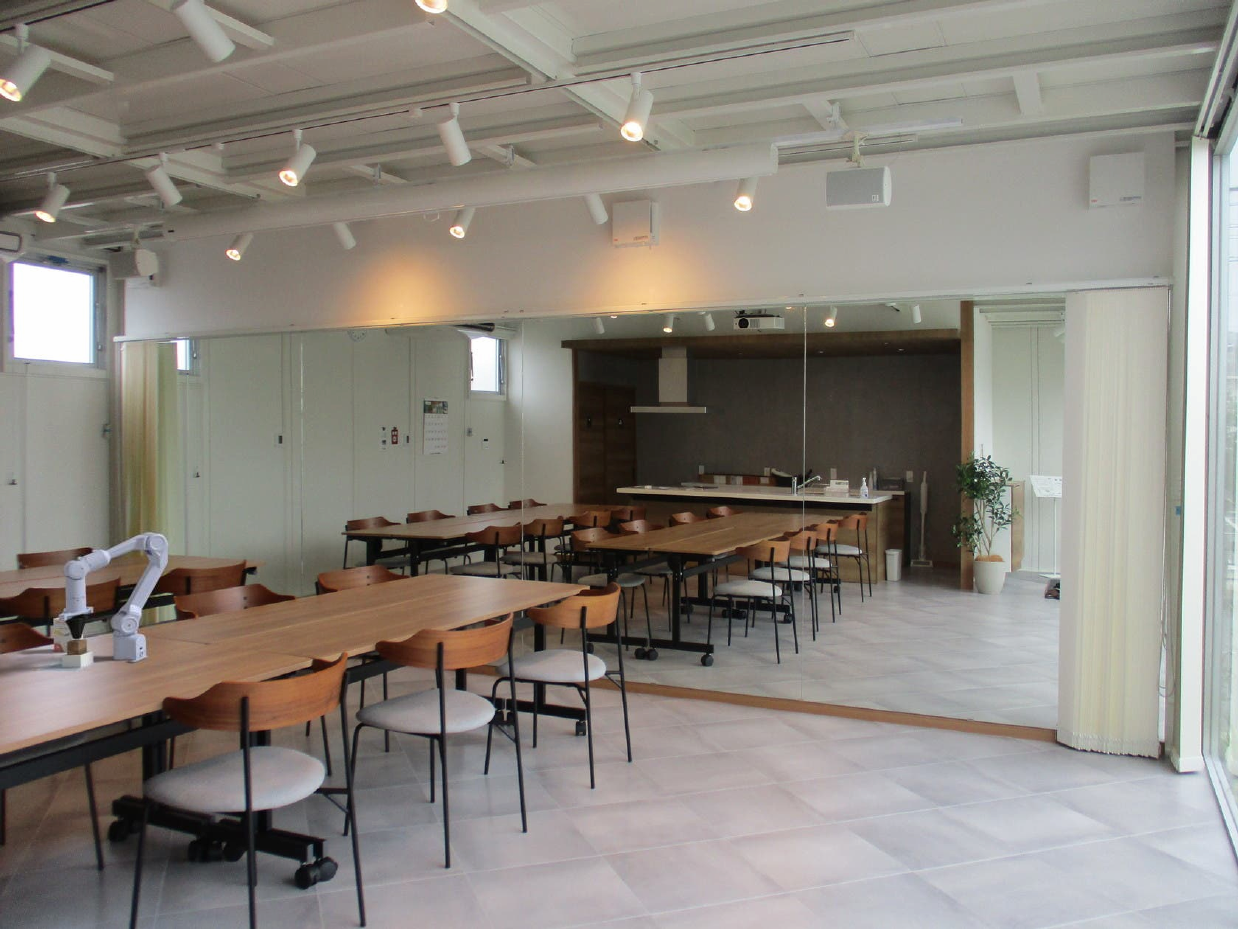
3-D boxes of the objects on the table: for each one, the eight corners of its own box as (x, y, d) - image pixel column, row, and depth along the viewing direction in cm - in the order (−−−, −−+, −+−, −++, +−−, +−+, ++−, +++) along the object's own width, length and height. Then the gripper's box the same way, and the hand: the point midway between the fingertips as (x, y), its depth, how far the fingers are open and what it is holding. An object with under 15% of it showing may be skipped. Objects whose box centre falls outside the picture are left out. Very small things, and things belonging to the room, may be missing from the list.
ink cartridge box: (53, 651, 331) (51, 610, 331) (64, 648, 336) (63, 607, 336) (72, 652, 329) (71, 611, 329) (84, 649, 334) (82, 608, 333)
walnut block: (87, 654, 308) (86, 639, 308) (79, 657, 304) (78, 642, 304) (75, 654, 308) (75, 639, 308) (67, 657, 304) (66, 642, 304)
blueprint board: (97, 665, 309) (97, 651, 309) (76, 673, 298) (75, 658, 298) (57, 665, 310) (57, 650, 310) (34, 673, 299) (34, 658, 299)
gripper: (78, 593, 313) (79, 634, 313) (49, 601, 299) (50, 643, 299) (98, 593, 312) (99, 634, 313) (70, 601, 298) (71, 643, 298)
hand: (77, 638), depth 306 cm, fingers closed
